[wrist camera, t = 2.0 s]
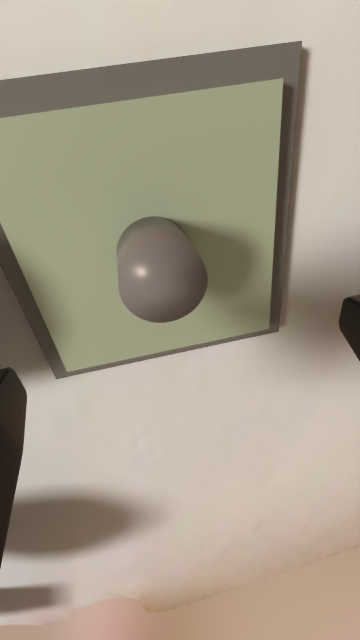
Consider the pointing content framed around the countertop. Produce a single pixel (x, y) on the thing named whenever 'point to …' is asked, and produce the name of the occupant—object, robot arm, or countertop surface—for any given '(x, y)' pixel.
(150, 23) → the countertop surface
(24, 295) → the rubber mat
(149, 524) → the countertop surface
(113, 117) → the cover
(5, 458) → the robot arm
